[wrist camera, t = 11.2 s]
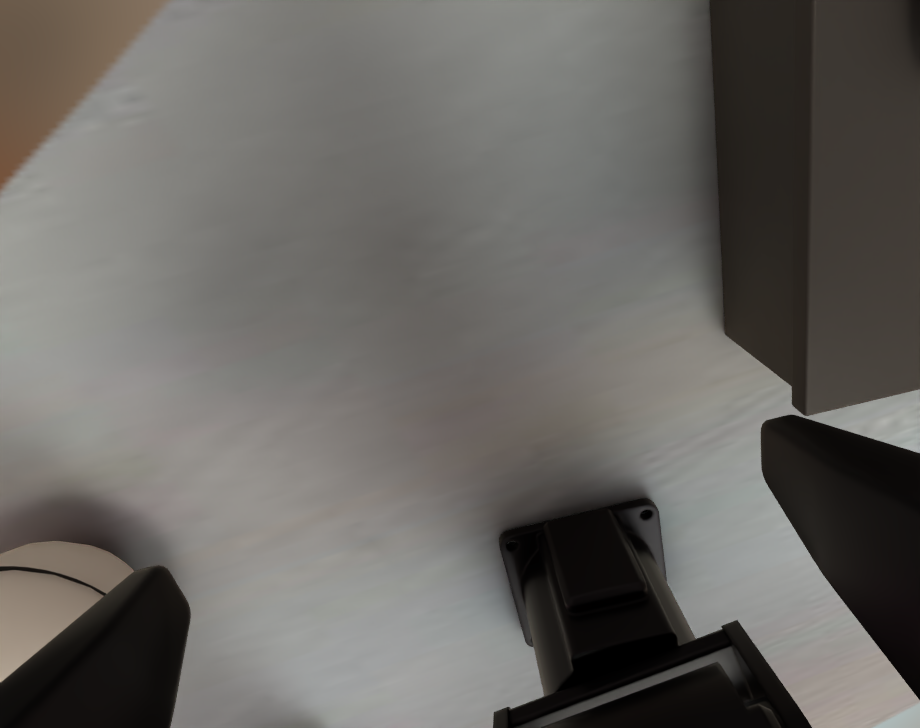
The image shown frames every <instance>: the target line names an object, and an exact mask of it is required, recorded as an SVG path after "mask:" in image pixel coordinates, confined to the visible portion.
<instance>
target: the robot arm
mask: <svg viewBox="0 0 920 728" xmlns="http://www.w3.org/2000/svg"><path fill="white" fill-rule="evenodd" d="M761 466H762V472H763V476H764V479H765V481H766V483H767V485H768V487H769V488H770V490H771V491H772V493H773V495H774V496H775V498H776V500H777V501H778V503H779V504H780V506H781V508H782V509H783V511H784V513H785V514H786V516H787V518H788V519H789V521H790V522H791V524H792V526H793V527H794V529H795V531H796V532H797V534H798V535H799V537H800V539H801V540H802V542H803V544H804V545H805V547H806V548H807V550H808V552H809V553H810V555H811V557H812V558H813V560H814V561H815V563H816V564H817V566H818V567H819V569H820V570H821V572H822V574H823V575H824V576H825V578H826V579H827V580H828V582H829V583H830V584H831V586H832V587H833V588H834V590H835V591H836V592H837V594H838V595H839V596H840V598H841V599H842V600H843V601H844V603H845V604H846V605H847V607H848V608H849V609H850V610H851V612H852V613H853V614H854V616H855V617H856V618H857V620H858V621H859V622H860V623H861V625H862V626H863V627H864V629H865V630H866V631H867V632H868V634H869V635H870V636H871V638H872V639H873V640H874V642H875V643H876V644H877V645H878V647H879V648H880V649H881V651H882V652H883V653H884V654H885V656H886V657H887V658H888V660H889V661H890V662H891V664H892V665H893V666H894V667H895V669H896V670H897V671H898V673H899V674H900V675H901V676H902V678H903V679H904V680H905V682H906V683H907V684H908V685H909V687H910V688H911V689H912V691H913V692H914V693H915V695H916V696H917V697H918V698H919V700H920V453H917V452H913V451H910V450H907V449H904V448H900V447H897V446H894V445H890V444H887V443H884V442H881V441H877V440H874V439H871V438H868V437H864V436H861V435H858V434H855V433H851V432H848V431H845V430H842V429H838V428H835V427H832V426H829V425H825V424H822V423H819V422H816V421H812V420H809V419H806V418H803V417H799V416H796V415H787V416H782V417H778V418H774V419H770V420H767V421H765V422H764V423H763V424H762V427H761ZM644 510H648V511H647V512H645V513H641V512H642V511H644ZM511 541H515V543H513V544H508V542H511ZM499 544H500V550H501V553H502V557H503V561H504V564H505V568H506V572H507V575H508V579H509V583H510V586H511V590H512V594H513V597H514V601H515V605H516V609H517V612H518V616H519V620H520V623H521V627H522V631H523V634H524V638H525V642H526V643H527V645H529V646H531V647H534V650H535V655H536V660H537V664H538V669H539V673H540V678H541V683H542V687H543V692H544V697H542V698H539V699H536V700H534V701H531V702H528V703H526V704H523V705H520V706H518V707H515V708H512V709H511V708H510V707H507V708H504V709H501V710H499V711H496V712H494V722H493V728H812V727H811V725H810V724H809V722H808V720H807V719H806V717H805V716H804V714H803V713H802V711H801V710H800V708H799V707H798V705H797V704H796V703H795V701H794V700H793V698H792V697H791V696H790V694H789V693H788V691H787V690H786V688H785V687H784V686H783V684H782V683H781V681H780V680H779V679H778V677H777V676H776V674H775V673H774V671H773V670H772V669H771V667H770V666H769V664H768V663H767V662H766V660H765V659H764V657H763V656H762V654H761V653H760V652H759V650H758V649H757V647H756V646H755V645H754V643H753V642H752V640H751V639H750V638H749V636H748V635H747V633H746V632H745V630H744V629H743V628H742V626H741V625H740V623H739V622H738V621H737V620H736V621H733V622H731V623H728V624H725V625H723V626H721V627H722V629H721V630H719V631H716V632H713V633H711V634H708V635H705V636H703V637H700V638H697V639H695V637H694V635H693V633H692V631H691V629H690V627H689V625H688V623H687V621H686V619H685V617H684V615H683V613H682V611H681V609H680V608H679V606H678V604H677V602H676V600H675V598H674V596H673V594H672V592H671V590H670V588H669V586H668V584H667V579H666V570H665V562H664V553H663V545H662V536H661V527H660V519H659V511H658V509H657V507H656V505H655V503H654V502H653V501H652V500H650V499H647V498H645V499H638V500H634V501H630V502H626V503H621V504H617V505H613V506H609V507H604V508H600V509H596V510H592V511H587V512H583V513H579V514H575V515H570V516H566V517H562V518H558V519H553V520H549V521H545V522H541V523H536V524H532V525H528V526H523V527H519V528H515V529H511V530H507V531H505V532H503V533H502V534H501V535H500V537H499ZM189 625H190V607H189V604H188V602H187V600H186V598H185V596H184V595H183V593H182V591H181V590H180V588H179V587H178V585H177V583H176V582H175V580H174V578H173V577H172V575H171V573H170V572H169V570H168V569H167V568H165V567H164V566H159V565H158V566H153V567H149V568H145V569H141V570H137V571H135V572H133V573H131V574H130V575H129V576H127V577H126V578H125V579H124V580H123V581H121V582H120V583H119V584H118V585H117V586H115V587H114V588H113V589H112V590H111V591H110V592H108V593H107V594H106V595H105V596H104V597H102V598H101V599H100V600H99V601H98V602H96V603H95V604H94V605H93V606H92V607H90V608H89V609H88V610H87V611H86V612H84V613H83V614H82V615H81V616H80V617H78V618H77V619H76V620H75V621H74V622H72V623H71V624H70V625H69V626H68V627H66V628H65V629H64V630H63V631H62V632H60V633H59V634H58V635H57V636H56V637H54V638H53V639H52V640H51V641H50V642H48V643H47V644H46V645H45V646H44V647H42V648H41V649H40V650H39V651H38V652H36V653H35V654H34V655H33V656H32V657H30V658H29V659H28V660H27V661H26V662H24V663H23V664H22V665H21V666H20V667H18V668H17V669H16V670H15V671H14V672H13V673H11V674H10V675H9V676H8V677H7V678H5V679H4V680H3V681H2V682H1V683H0V728H170V726H171V722H172V717H173V712H174V708H175V703H176V697H177V691H178V686H179V680H180V675H181V669H182V664H183V658H184V652H185V647H186V641H187V636H188V630H189Z"/></svg>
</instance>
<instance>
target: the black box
mask: <svg viewBox="0 0 920 728" xmlns="http://www.w3.org/2000/svg"><path fill="white" fill-rule="evenodd" d="M710 14H711V36H712V57H713V79H714V101H715V122H716V144H717V165H718V187H719V208H720V230H721V252H722V273H723V295H724V316H725V334H726V335H727V336H728V337H729V338H730V339H732V340H733V341H734V342H736V343H737V344H738V345H739V346H741V347H742V348H743V349H744V350H746V351H747V352H748V353H750V354H751V355H752V356H753V357H755V358H756V359H757V360H759V361H760V362H761V363H762V364H764V365H765V366H766V367H768V368H769V369H770V370H771V371H773V372H774V373H775V374H777V375H778V376H779V377H780V378H782V379H783V380H784V381H786V382H787V383H788V384H789V385H791V386H792V405H793V406H794V407H795V408H796V409H797V410H798V411H800V412H801V413H802V414H803V415H805V416H809V415H813V414H817V413H821V412H826V411H830V410H834V409H838V408H842V407H847V406H851V405H855V404H859V403H863V402H868V401H872V400H876V399H880V398H885V397H889V396H893V395H897V394H901V393H906V392H910V391H914V390H918V389H920V0H710Z"/></svg>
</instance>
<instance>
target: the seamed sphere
mask: <svg viewBox="0 0 920 728" xmlns="http://www.w3.org/2000/svg"><path fill="white" fill-rule="evenodd" d="M133 572H134V570H133V569H132V568H131V567H130V566H129V565H127V564H126V563H125V562H124V561H122V560H121V559H119V558H118V557H116V556H115V555H113V554H112V553H110V552H108V551H105V550H103V549H100V548H97V547H94V546H92V545H85V544H77V543H70V542H62V541H48V542H38V543H29V544H26V545H23V546H21V547H18V548H15V549H12V550H10V551H7V552H4V553H1V554H0V683H1V682H2V681H3V680H4V679H5V678H7V677H8V676H9V675H10V674H11V673H13V672H14V671H15V670H16V669H17V668H18V667H20V666H21V665H22V664H23V663H24V662H26V661H27V660H28V659H29V658H30V657H32V656H33V655H34V654H35V653H36V652H38V651H39V650H40V649H41V648H42V647H44V646H45V645H46V644H47V643H48V642H50V641H51V640H52V639H53V638H54V637H56V636H57V635H58V634H59V633H60V632H62V631H63V630H64V629H65V628H66V627H68V626H69V625H70V624H71V623H72V622H74V621H75V620H76V619H77V618H78V617H80V616H81V615H82V614H83V613H84V612H86V611H87V610H88V609H89V608H90V607H92V606H93V605H94V604H95V603H96V602H98V601H99V600H100V599H101V598H102V597H104V596H105V595H106V594H107V593H108V592H110V591H111V590H112V589H113V588H114V587H115V586H117V585H118V584H119V583H120V582H121V581H123V580H124V579H125V578H126V577H127V576H129V575H130V574H131V573H133Z"/></svg>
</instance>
